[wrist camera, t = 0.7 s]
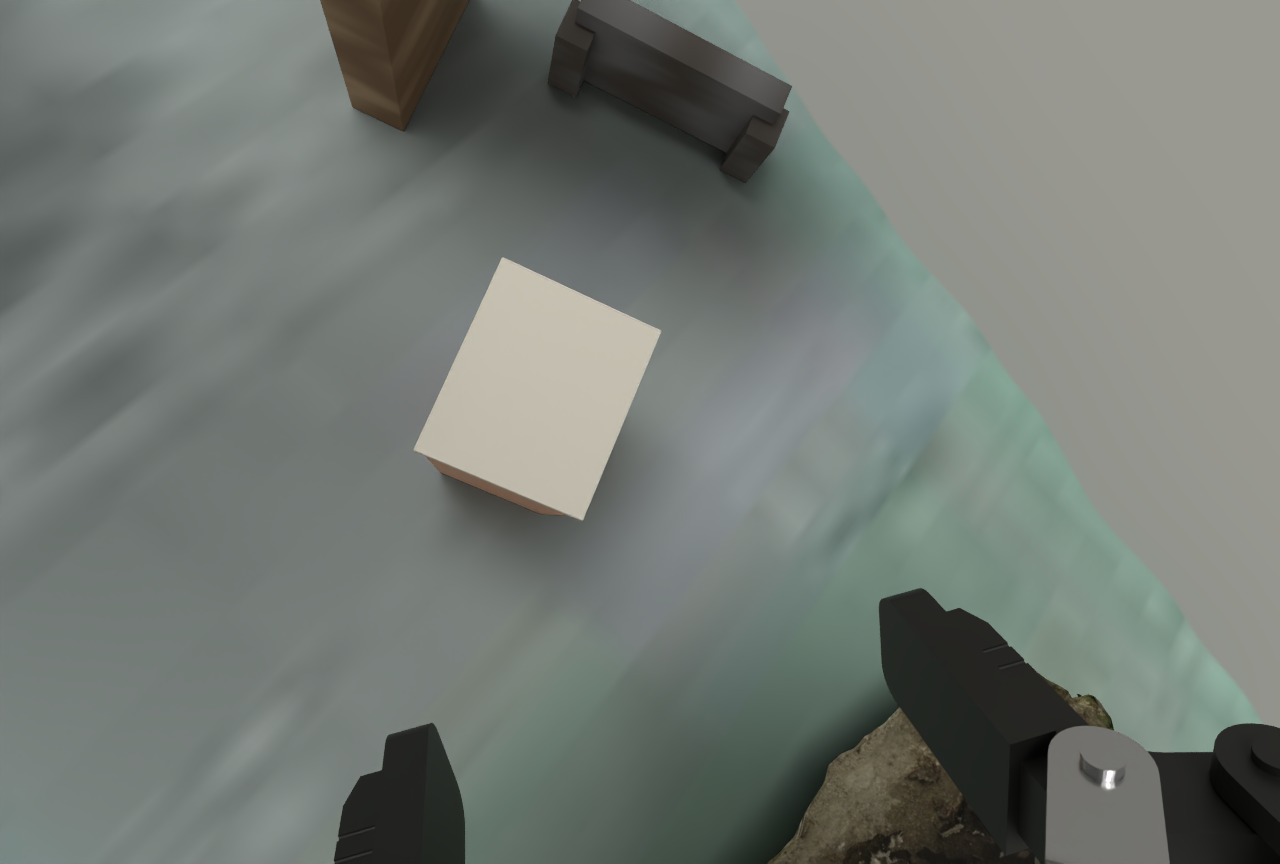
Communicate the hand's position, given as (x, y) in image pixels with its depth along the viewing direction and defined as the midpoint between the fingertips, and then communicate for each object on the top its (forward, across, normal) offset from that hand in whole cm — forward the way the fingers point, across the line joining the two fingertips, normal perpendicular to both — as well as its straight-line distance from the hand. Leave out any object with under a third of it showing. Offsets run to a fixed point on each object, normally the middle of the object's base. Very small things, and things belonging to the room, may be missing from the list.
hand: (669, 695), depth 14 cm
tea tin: (+24, +2, +4) cm, 24 cm away
